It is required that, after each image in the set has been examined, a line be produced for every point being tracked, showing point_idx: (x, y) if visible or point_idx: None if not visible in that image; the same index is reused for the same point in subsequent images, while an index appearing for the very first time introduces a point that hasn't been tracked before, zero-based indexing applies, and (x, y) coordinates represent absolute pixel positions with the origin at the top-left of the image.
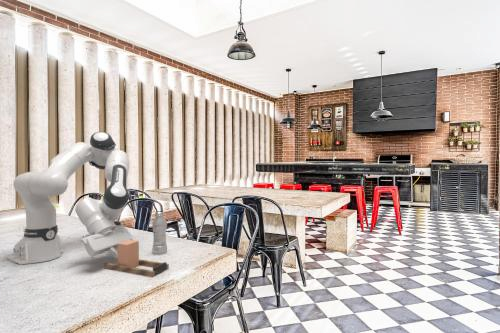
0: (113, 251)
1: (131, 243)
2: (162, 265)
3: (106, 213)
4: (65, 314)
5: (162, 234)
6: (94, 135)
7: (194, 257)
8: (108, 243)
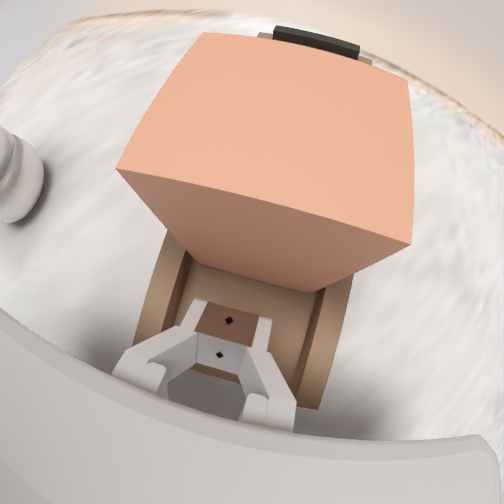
0: (280, 378)
1: (334, 54)
2: (306, 34)
3: None
4: None
5: None
6: None
7: (98, 54)
8: (306, 487)
